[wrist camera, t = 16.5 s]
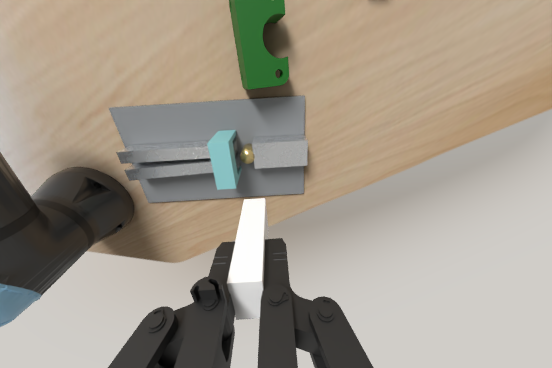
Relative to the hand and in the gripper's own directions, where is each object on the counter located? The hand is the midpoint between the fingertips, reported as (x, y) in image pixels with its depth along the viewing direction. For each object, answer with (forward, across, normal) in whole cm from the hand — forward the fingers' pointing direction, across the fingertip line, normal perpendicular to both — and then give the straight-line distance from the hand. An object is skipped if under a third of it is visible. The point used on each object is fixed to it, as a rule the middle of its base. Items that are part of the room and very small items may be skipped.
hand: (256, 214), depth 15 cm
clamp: (+25, 0, +13) cm, 28 cm away
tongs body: (+24, -8, -3) cm, 25 cm away
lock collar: (+24, -6, -3) cm, 25 cm away
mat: (+24, -9, -4) cm, 26 cm away
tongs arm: (+24, -14, -5) cm, 28 cm away
